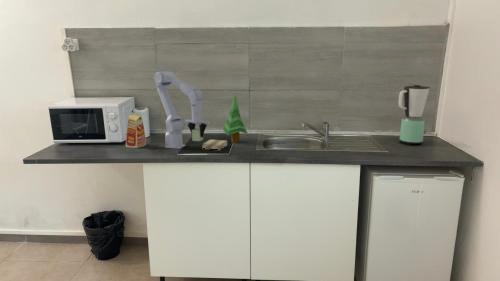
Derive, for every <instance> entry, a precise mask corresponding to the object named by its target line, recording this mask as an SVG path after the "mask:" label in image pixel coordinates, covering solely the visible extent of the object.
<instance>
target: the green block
mask: <svg viewBox="0 0 500 281" xmlns="http://www.w3.org/2000/svg"><path fill="white" fill-rule="evenodd" d="M191 139H192V142H201V141H203V140H204V136H203V137H201V136H200V128H196V127H195V129H193V130H192V134H191Z"/></svg>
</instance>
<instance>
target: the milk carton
mask: <svg viewBox="0 0 500 281" xmlns="http://www.w3.org/2000/svg"><path fill="white" fill-rule="evenodd" d="M126 125H127V126H126V136H125V147H126V148H132V149H135V148H136V149H137V148H141V147H145V146H146V145H147V138H146V133H145V127H144V121H143V118H142V115H141V114H137V113H134V112H130V115H129V116H128V118H127V124H126Z"/></svg>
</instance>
